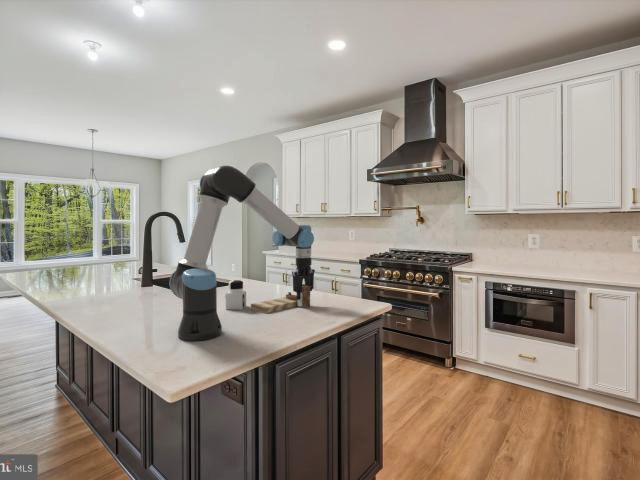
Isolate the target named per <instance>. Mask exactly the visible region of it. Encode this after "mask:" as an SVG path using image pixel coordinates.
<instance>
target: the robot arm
mask: <svg viewBox="0 0 640 480" xmlns="http://www.w3.org/2000/svg"><path fill="white" fill-rule="evenodd" d="M199 188H200V191H199V194H198V197H199V200H200V204H199V206H198V207H199V208H198V212H197V214H196V218H195V220H194V225H193V227H192V231H191V235H190V236H189V237H190V238H189V241H188V244H187V248H186V251H185V254H184V258H182V259H181V260H179V261H178V264H177V267H176V268H175V271H173V272H172V274H171V276H170V278H169V282H168V283H169V288H170V290H171V292H172V293H173V295H174V296H175V297H177V298H179V299H181V300H182V317H181V321H180V323H179V326H178V330H177V332H178V333H177V337H178V338H179V339H180V340H182V341H187V342H188V341H190V342H198V341H207V340H212V339H215V338H218V337H219V336H220V335H222V334H223V327H222V323H221V320H220V318H219V315H218V311H217V309H218V305H217V304H218V303H217V301H218V300H217V297H218V295H217V294H218V293H217V291H218V290H217V283H218V280H217V274H216V273H215V271H214V270H212V269H209V268H208V266H207V262H208V258H209V255H210V251H211V248H212V245H213V241H214V238H215V235H216V232H217V231H216V230H217V228H218V224H219V222H220V217H221V214H222V211H223V208H225V207H226V206H228V205H229V200H230V198H231V199H232V198H233V199H234V200H235V201H237V202H239V203H240V204H242V203H243V204H245V205H246V207H248V208H250V209H251V210H252V211H253V212H255V213H256V214H257V215H258V216H259V217H261V219H263V220H264V221H266V222H267V223H268V224H269V225H270V226H271V227H273V228H274V229H275V230H274V231H273V233H272V243H273V244H274V245H275V246H276V247H277V246H278V247H283V246H287V247H295V265H296V267H295V268H296V269H295V270H294V271H293V270H292V271H291V275H292V291H293V292H294V293H295V294H296V295H297V306H296V307H298V306H301V307H300V308H302V293H301V290H302V284H305V285H307V286H310V292H312V291H313V290H314V282H315V281H314V280H315V272H316V270H315V268H311V265H312V245H313V243H314V241H315V236H314V233H313V232H312V226H311V225H310V224H297V222H295V220H293V219H292V218H291V217H290V216H289V215H287V214H286V212H284V211H283V210H282V209H280V208H279V206H277V205H276V204H275V203H274V202H272V200H271V199H269V198H268V197H267V196H266V195H265V194H263V193H262V192H261V191H260V190H259V189H258V188H257V186H256V183H255V182H254V181H253V180H252V179H250V178H249V177H248V176H247V175H245V173H243V172H242V171H240V169H238V168H236V167H234V166H231V165H220V166H218V167H216V168H215V167H214V168H210V169H208V170H207V171H206V172H204V173H203V174H202V175H201V177H200V180H199ZM303 282H304V283H303Z"/></svg>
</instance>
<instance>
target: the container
mask: <svg viewBox="0 0 640 480" xmlns="http://www.w3.org/2000/svg"><path fill="white" fill-rule="evenodd" d="M246 307H247V290H244V282H243V281H242V280H241V279H234V280H233V279H232V280H230V281H229V282H228V291H227V292H226V293H225V310H232V311H233V310H235V311H237V310H239V311H240V310H241V311H242V310H243V309H244V308H246Z"/></svg>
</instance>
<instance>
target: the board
mask: <svg viewBox="0 0 640 480" xmlns="http://www.w3.org/2000/svg"><path fill="white" fill-rule="evenodd" d="M294 307H298V306H297V300H294V299H289V298H286V296H285V297H279V298H275V299H270V300H264V301H260V302H254V303H251V304H250V310H252V311H256V312H260V313H263V314H268V313H272V312H277V311H281V310H286V309H290V308H294Z"/></svg>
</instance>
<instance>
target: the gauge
mask: <svg viewBox="0 0 640 480" xmlns="http://www.w3.org/2000/svg"><path fill="white" fill-rule="evenodd" d="M301 293H302V307H301V306H297V307H298V308H303V309H304V308H310V307H311V291H310V286H307V285H305V283H302V290H301ZM285 297H286V298H289V299H294V300H297V294H292V292H291V291H290V292H289V291H288V293H287V294H285Z"/></svg>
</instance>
